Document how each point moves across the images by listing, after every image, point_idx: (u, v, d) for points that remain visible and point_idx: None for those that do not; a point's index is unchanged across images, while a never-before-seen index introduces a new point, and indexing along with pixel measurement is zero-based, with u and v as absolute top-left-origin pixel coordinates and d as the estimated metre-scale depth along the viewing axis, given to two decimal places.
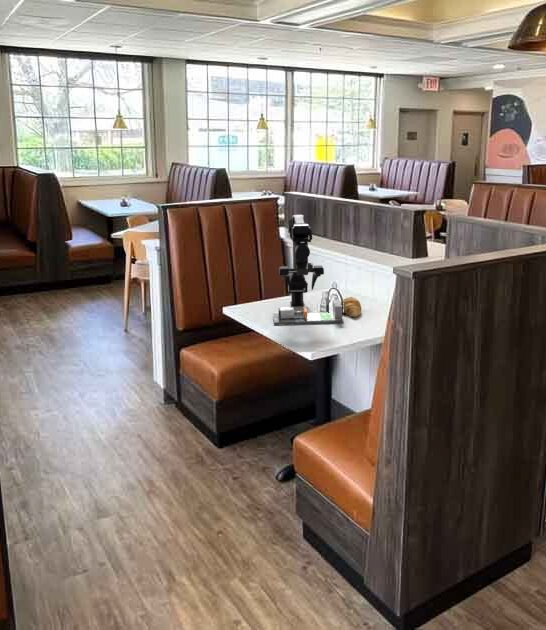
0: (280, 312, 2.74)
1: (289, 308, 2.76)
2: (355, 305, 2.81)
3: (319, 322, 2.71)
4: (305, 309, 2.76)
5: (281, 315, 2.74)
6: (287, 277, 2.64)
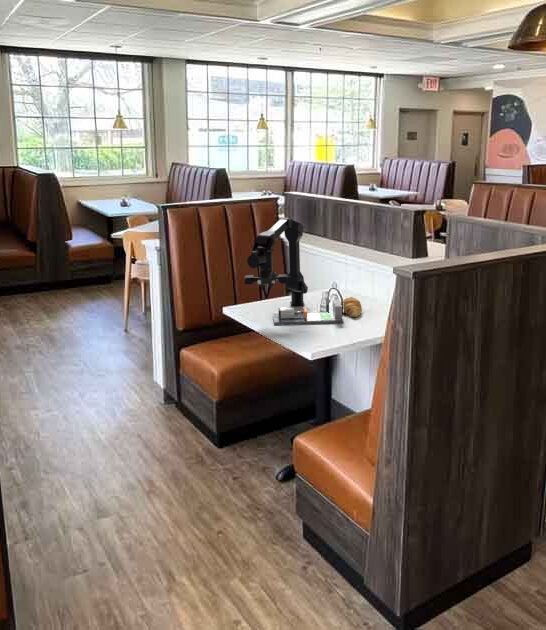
0: (280, 312, 2.74)
1: (289, 308, 2.76)
2: (355, 305, 2.81)
3: (319, 322, 2.71)
4: (305, 309, 2.76)
5: (281, 315, 2.74)
6: (262, 285, 2.70)
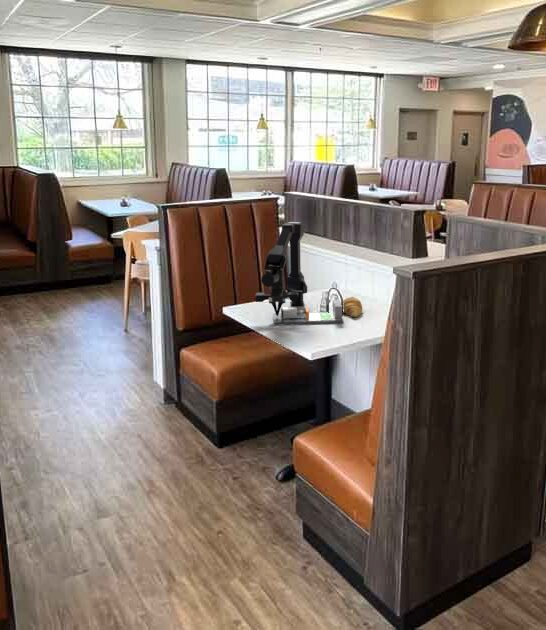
0: (283, 312, 2.74)
1: (292, 308, 2.76)
2: (356, 305, 2.81)
3: (319, 322, 2.71)
4: (307, 309, 2.76)
5: (284, 315, 2.74)
6: (273, 303, 2.72)
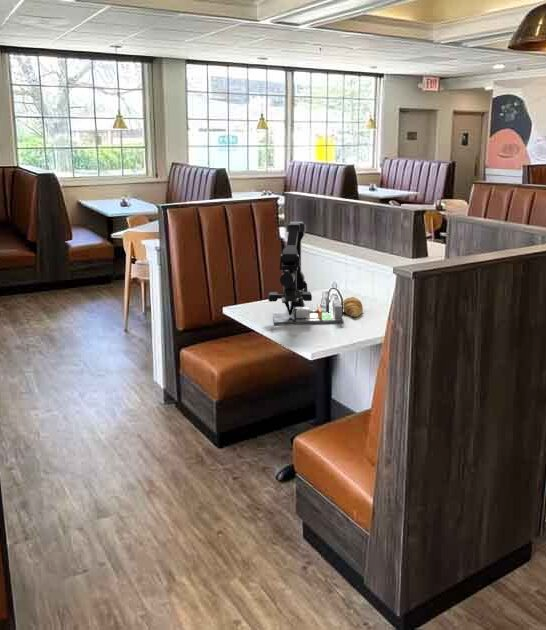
0: (295, 312, 2.74)
1: (304, 308, 2.76)
2: (356, 305, 2.81)
3: (319, 322, 2.71)
4: (319, 309, 2.76)
5: (296, 315, 2.74)
6: (286, 303, 2.72)
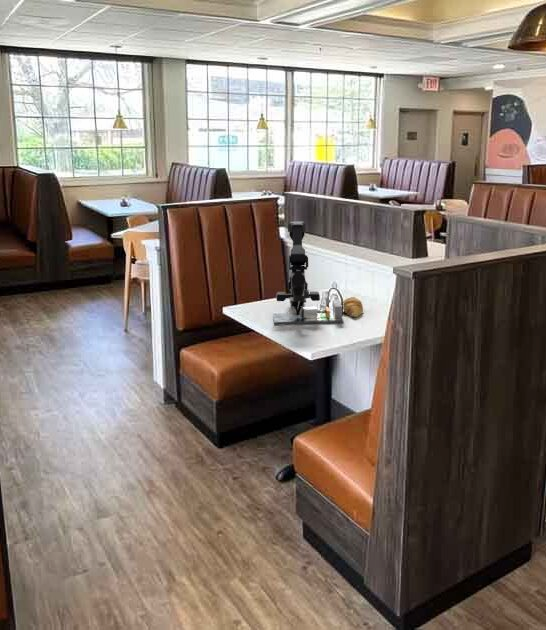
0: (303, 311, 2.74)
1: (312, 307, 2.76)
2: (356, 305, 2.81)
3: (319, 322, 2.71)
4: (327, 308, 2.76)
5: (304, 314, 2.74)
6: (294, 302, 2.72)
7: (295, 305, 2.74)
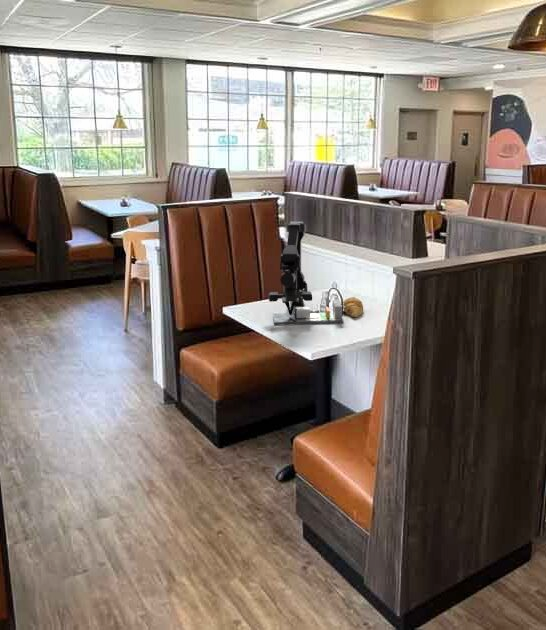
0: (296, 312, 2.74)
1: (305, 308, 2.76)
2: (356, 305, 2.81)
3: (319, 322, 2.71)
4: (327, 308, 2.76)
5: (297, 315, 2.74)
6: (287, 303, 2.72)
7: (287, 305, 2.74)
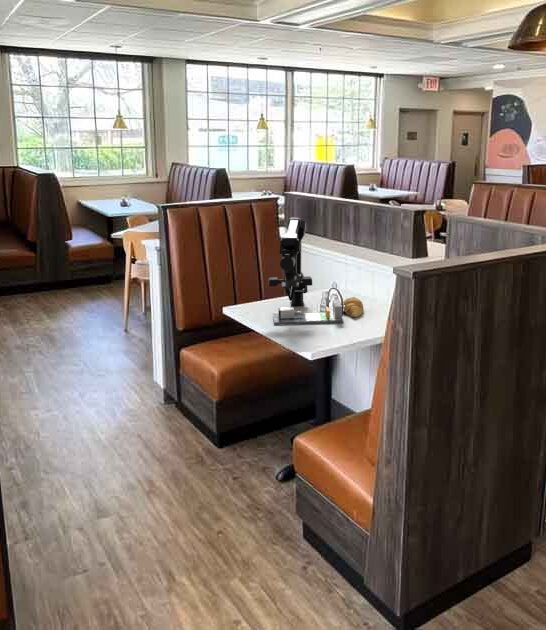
0: (280, 312, 2.74)
1: (289, 308, 2.76)
2: (356, 305, 2.81)
3: (319, 322, 2.71)
4: (327, 308, 2.76)
5: (281, 315, 2.74)
6: (286, 288, 2.70)
7: (287, 290, 2.71)
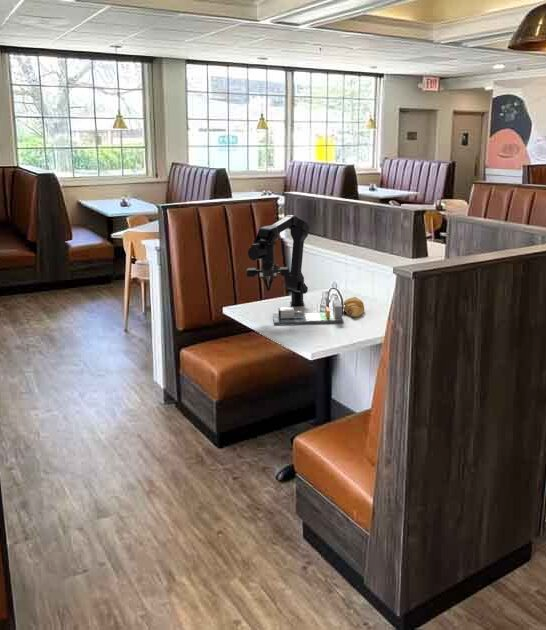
0: (280, 312, 2.74)
1: (289, 308, 2.76)
2: (357, 305, 2.81)
3: (319, 322, 2.71)
4: (327, 308, 2.76)
5: (281, 315, 2.74)
6: (264, 278, 2.75)
7: (265, 281, 2.76)
